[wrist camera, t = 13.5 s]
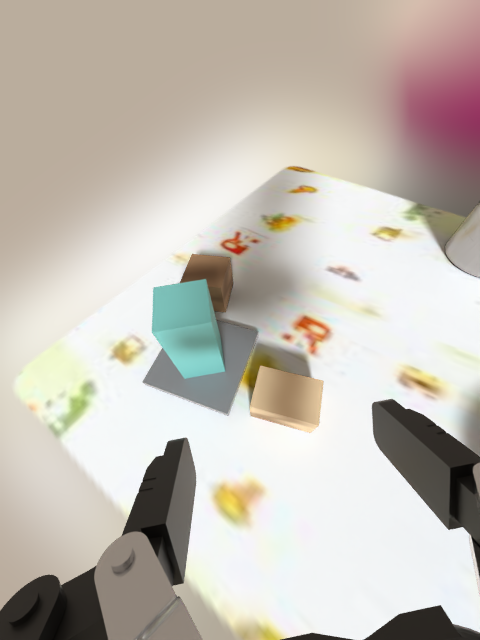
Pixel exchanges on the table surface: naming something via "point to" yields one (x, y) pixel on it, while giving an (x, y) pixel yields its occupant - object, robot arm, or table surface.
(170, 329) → the teal block
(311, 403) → the oak block
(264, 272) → the table surface
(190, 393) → the coaster
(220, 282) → the walnut cube
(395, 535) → the table surface
